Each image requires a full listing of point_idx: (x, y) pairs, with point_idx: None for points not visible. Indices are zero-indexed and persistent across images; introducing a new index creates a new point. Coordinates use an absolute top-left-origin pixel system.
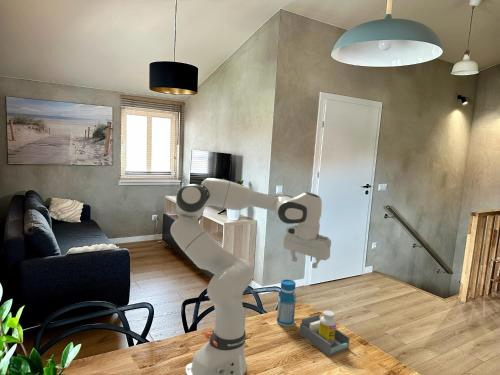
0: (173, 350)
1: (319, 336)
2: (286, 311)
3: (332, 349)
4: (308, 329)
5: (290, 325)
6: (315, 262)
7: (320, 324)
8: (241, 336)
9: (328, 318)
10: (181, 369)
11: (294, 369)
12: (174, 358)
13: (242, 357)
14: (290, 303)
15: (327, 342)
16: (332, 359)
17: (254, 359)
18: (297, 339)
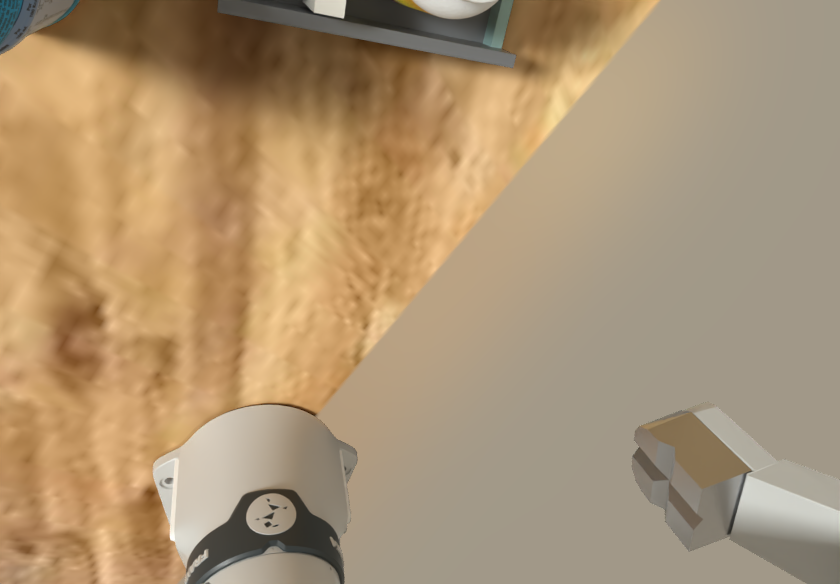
0: (50, 574)
1: (422, 42)
2: (40, 24)
3: (504, 32)
4: (317, 30)
5: None
6: (785, 569)
7: (414, 5)
8: (335, 572)
9: None
10: None
11: (430, 269)
12: (108, 576)
13: (339, 495)
14: (30, 3)
15: (491, 58)
16: None
17: (278, 363)
18: (263, 69)
